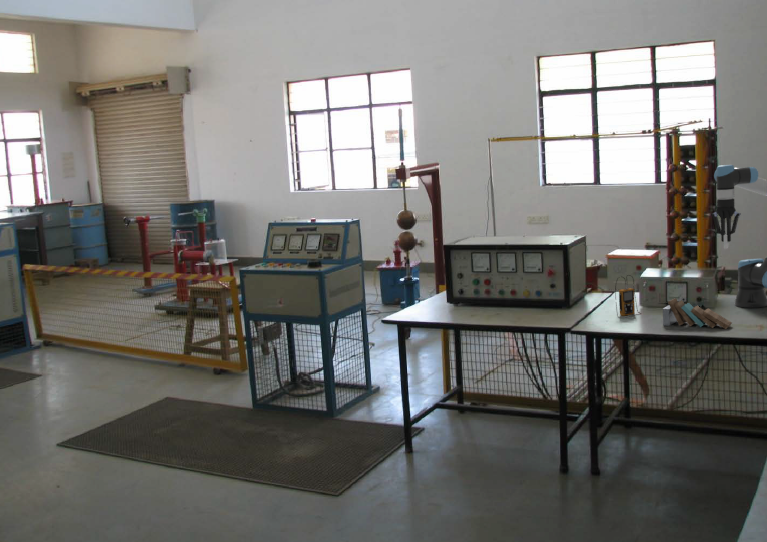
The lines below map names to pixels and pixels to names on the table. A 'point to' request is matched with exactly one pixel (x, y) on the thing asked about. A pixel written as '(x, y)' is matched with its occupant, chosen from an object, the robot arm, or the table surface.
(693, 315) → the tile
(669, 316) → the bar
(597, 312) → the table surface
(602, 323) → the table surface
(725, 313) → the table surface
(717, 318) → the tile
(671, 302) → the tile
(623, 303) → the multimeter
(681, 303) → the tile
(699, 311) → the tile
